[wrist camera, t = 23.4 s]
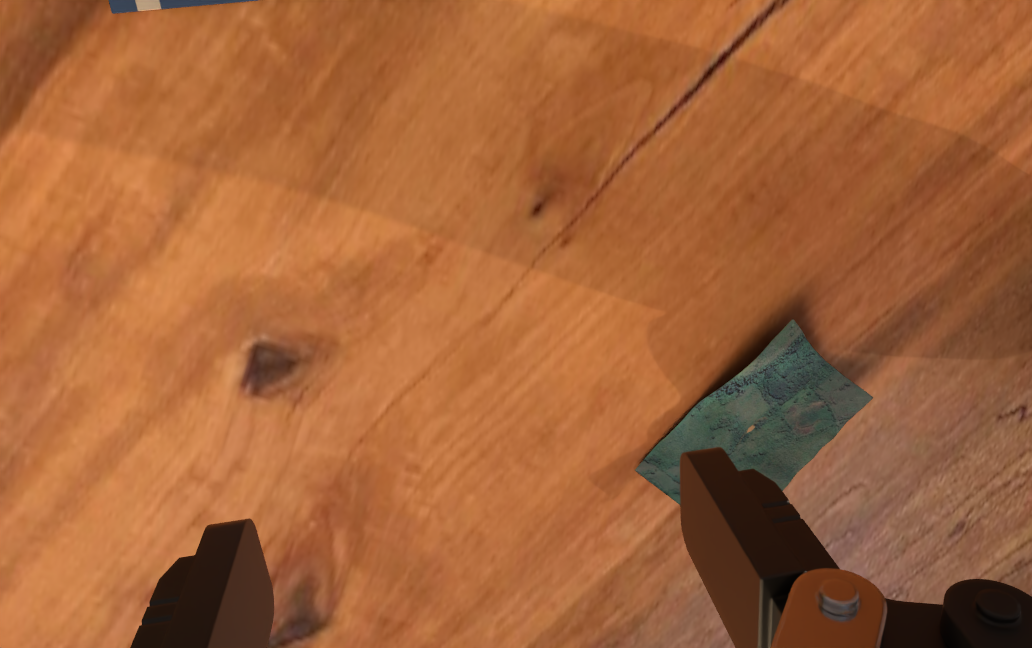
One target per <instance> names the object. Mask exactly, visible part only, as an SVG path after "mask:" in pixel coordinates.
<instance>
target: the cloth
mask: <svg viewBox="0 0 1032 648" xmlns="http://www.w3.org/2000/svg"><path fill="white" fill-rule="evenodd" d="M246 1H257V0H109V4H110V7H111V11H112V13H124V12H136V11H147V10H158V9H169V8H180V7H191V6H202V5H213V4H224V3H235V2H246Z"/></svg>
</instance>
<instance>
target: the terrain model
mask: <svg viewBox="0 0 1032 648" xmlns="http://www.w3.org/2000/svg"><path fill="white" fill-rule="evenodd" d="M872 398H873V397H872V396H871V395H869V394H868V393H867V392H866V391H864V390H863V389H861V388H860V387H859V386H857V385H856V384H854V383H853V382H851V381H850V380H849V379H847V378H846V377H845V376H843V375H842V374H841V373H840V372H838V371H837V370H836V369H835V368H834V367H832V366H831V365H830V364H829V363H827V362H826V361H825V360H824V359H823V358H822V357H821V356H820V355H819V354H818V353H817V352H816V351H815V350H814V349H813V347H812V346H811V345H810V343H809V342H808V340H807V339H806V337H805V335H804V333H803V332H802V330H801V329H800V327H799V326H798V324H797V323H796V322H795V321H794V320H793V319H792V320H791V321H790V322H789V323H788V324H787V325H786V326H785V327H784V328H783V330H782V331H781V332H780V333H779V334H778V335H777V336H776V337H775V338H774V339H773V340H772V341H771V342H770V343H769V344H768V346H767V347H766V348H765V349H764V350H763V352H762V353H761V354H760V355H759V356H758V357H757V358H756V359H755V360H754V361H753V362H752V363H751V364H750V365H748V366H747V367H746V368H745V369H744V370H743V371H741V372H740V373H739V374H738V375H737V376H735V377H734V378H733V379H731V380H730V381H729V382H727V383H726V384H724V385H723V386H722V387H720V388H719V389H718V390H716V391H715V392H713V393H712V394H710V395H709V396H707V397H706V398H704V399H703V400H702V401H700V402H699V403H698V404H697V405H696V406H695V407H694V408H693V409H692V410H691V411H690V412H689V413H688V414H687V415H686V417H685V418H684V419H683V420H682V421H681V422H680V423H679V424H678V425H677V426H676V427H675V428H674V429H673V430H672V431H671V433H670V434H669V435H667V436H666V437H665V438H664V439H663V440H662V441H660V442H659V443H658V444H657V445H656V446H655V448H654V449H653V450H652V451H651V452H650V453H649V454H648V455H647V456H646V458H645V459H644V460H643V461H642V462H641V463H640V465H639V466H638V467H637V468H636V469H635V471H636V472H638V473H639V474H640V475H641V476H643V477H644V478H645V479H647V480H648V481H649V482H651V483H652V484H653V485H655V486H656V487H657V488H659V489H660V490H661V491H663V492H664V493H665V494H666V495H668V496H669V497H670V498H672V499H673V500H674V501H676V502H677V503H678V504H679V505H681V503H680V457H681V454H682V453H684V452H690V451H696V450H703V449H709V448H716V447H722V448H723V449H724V451H725V452H726V453H727V455H728V456H729V458H730V459H731V461H732V462H733V464H734V465H735V467H736V468H737V469H738V471H741V470H748V469H755V470H757V471H758V472H760V473H761V474H763V475H764V476H766V477H768V478H769V479H771V480H772V481H774V482H776V484H777V485H778V486H779V488H780V489H781V490H782V491H783V490H784V488H785V487H786V486H787V485H788V484H789V483H790V481H791V480H792V479H793V477H794V476H795V475H796V474H797V473H798V472H799V471H800V470H801V469H802V468H803V467H804V466H805V465H806V464H807V463H808V462H809V461H811V460H812V459H813V458H814V457H815V455H816V454H817V453H818V451H819V450H820V449H821V448H822V447H823V446H825V445H826V444H827V443H828V442H830V441H831V440H832V439H833V438H834V437H835V436H836V435H837V433H838V432H839V431H840V430H841V428H842V427H843V426H844V425H845V424H846V422H847V421H848V420H850V419H851V418H852V417H853V416H854V415H855V414H856V413H857V412H858V411H860V410H861V409H862V408H863V407H864V406H865V405H866V404H867V403H868V402H869V401H870V400H872Z"/></svg>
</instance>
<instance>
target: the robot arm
mask: <svg viewBox="0 0 1032 648" xmlns="http://www.w3.org/2000/svg"><path fill="white" fill-rule="evenodd" d="M680 503H681V526H682V532H683V537H684V541H685V544H686V547H687V550H688V552H689V555H690V557H691V559H692V561H693V563H694V565H695V567H696V569H697V571H698V573H699V575H700V577H701V579H702V581H703V583H704V585H705V587H706V589H707V591H708V593H709V595H710V597H711V599H712V601H713V603H714V605H715V607H716V609H717V611H718V613H719V615H720V617H721V619H722V621H723V623H724V625H725V627H726V629H727V631H728V633H729V635H730V637H731V639H732V641H733V643H734V645H735V648H1032V597H1031V596H1030V595H1028V594H1026V593H1025V592H1023V591H1021V590H1019V589H1017V588H1015V587H1013V586H1010V585H1007V584H1004V583H1001V582H997V581H992V580H985V579H969V580H964V581H960V582H958V583H955V584H954V585H952V586H951V587H950V588H949V589H948V590H947V591H946V593H945V596H944V602H943V605H939V604H926V603H914V602H902V601H895V600H890V599H886V598H884V596H883V594H882V593H881V591H880V590H879V589H878V588H877V587H876V586H875V585H874V584H872V583H871V582H870V581H868V580H867V579H865V578H863V577H862V576H859V575H857V574H855V573H852V572H849V571H845V570H840V569H839V567H838V566H837V564H836V563H835V562H834V560H833V559H832V558H831V556H830V555H829V554H828V552H827V551H826V550H825V548H824V547H823V546H822V544H821V543H820V542H819V540H818V539H817V538H816V536H815V535H814V533H813V532H812V531H811V529H810V528H809V527H808V525H807V524H806V523H805V521H804V520H803V519H801V518H800V515H799V513H798V512H797V511H796V509H795V508H794V507H793V505H792V504H790V503H789V500H788V498H787V497H786V496H785V494H784V493H783V492H782V490H781V489H780V488H779V486H778V485H777V484H776V482H774V481H772V480H771V479H769V478H768V477H766V476H764V475H763V474H761V473H760V472H758V471H757V470H755V469H748V470H741V471H738V469H737V468H736V467H735V465H734V464H733V462H732V461H731V459H730V458H729V456H728V455H727V453H726V452H725V451H724V449H723V448H722V447H716V448H709V449H703V450H696V451H690V452H684V453H682V454H681V457H680ZM273 617H274V595H273V588H272V584H271V580H270V576H269V573H268V569H267V566H266V562H265V559H264V555H263V552H262V548H261V545H260V541H259V537H258V534H257V530H256V527H255V525H254V523H253V521H252V520H251V519H244V520H237V521H231V522H224V523H218V524H211V525H208V526H207V527H206V528H205V531H204V533H203V536H202V538H201V541H200V544H199V546H198V549H197V552H196V554H195V555H194V556H188V557H181V558H179V559H178V560H177V561H176V562H175V563H174V564H173V565H172V566H171V567H170V568H169V569H168V571H167V572H166V573H165V574H164V575H163V576H162V577H161V578H160V579H159V581H158V583H157V586H156V588H155V590H154V593H153V595H152V598H151V600H150V607H147V609H146V612H145V614H144V616H143V619H142V625H141V626H139V628H138V631H137V633H136V635H135V638H134V640H133V643H132V645H131V647H130V648H267V646H268V642H269V637H270V632H271V628H272V623H273Z"/></svg>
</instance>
